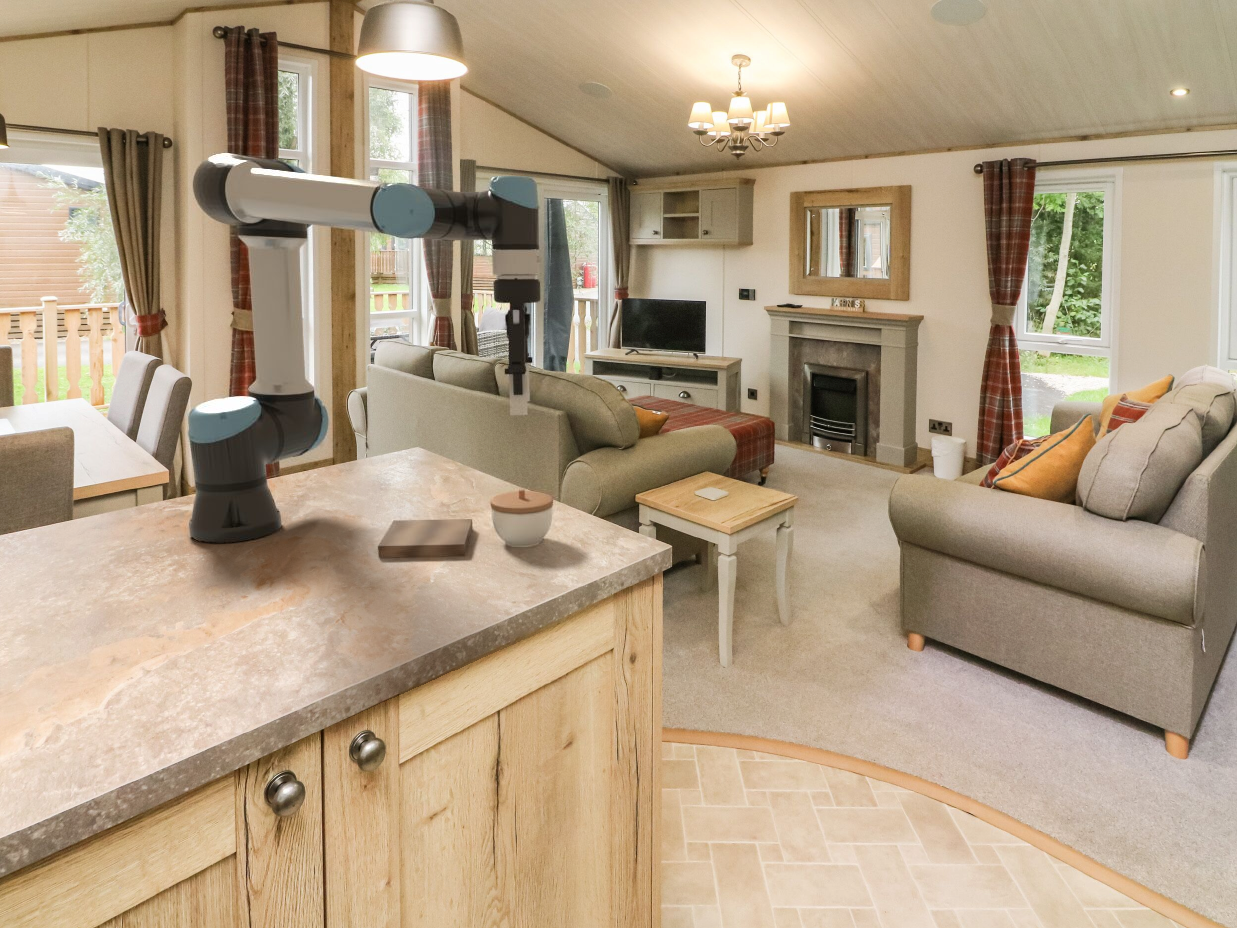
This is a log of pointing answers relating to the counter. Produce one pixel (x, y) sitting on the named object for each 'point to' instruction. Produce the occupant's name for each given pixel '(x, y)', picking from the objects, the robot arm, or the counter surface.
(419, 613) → the counter surface
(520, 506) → the lidded jar
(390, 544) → the walnut board
